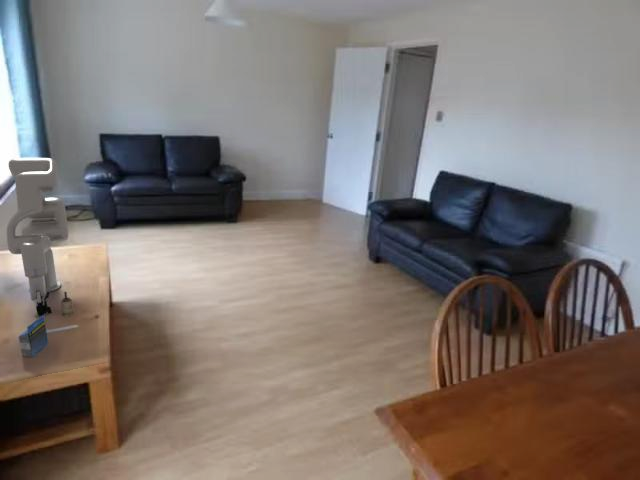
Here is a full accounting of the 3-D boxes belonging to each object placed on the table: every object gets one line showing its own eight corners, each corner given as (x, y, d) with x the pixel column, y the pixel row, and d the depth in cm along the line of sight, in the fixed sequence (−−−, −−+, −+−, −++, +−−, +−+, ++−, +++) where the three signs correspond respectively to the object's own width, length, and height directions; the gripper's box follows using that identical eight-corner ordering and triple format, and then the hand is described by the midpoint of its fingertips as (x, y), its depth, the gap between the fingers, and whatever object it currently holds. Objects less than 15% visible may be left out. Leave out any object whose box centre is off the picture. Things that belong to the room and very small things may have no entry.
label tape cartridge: (38, 342, 156) (33, 313, 152) (48, 343, 156) (44, 314, 152) (21, 356, 147) (16, 326, 143) (32, 357, 147) (27, 327, 143)
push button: (36, 319, 170) (32, 297, 167) (30, 315, 173) (27, 293, 170) (54, 313, 175) (51, 292, 172) (48, 309, 178) (45, 288, 175)
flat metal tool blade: (39, 332, 162) (39, 331, 162) (77, 325, 169) (77, 324, 169) (39, 334, 160) (39, 334, 160) (78, 327, 167) (78, 326, 167)
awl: (62, 312, 177) (59, 290, 174) (73, 310, 179) (70, 289, 176) (62, 316, 174) (59, 294, 170) (73, 314, 176) (71, 293, 172)
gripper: (25, 264, 172) (31, 303, 178) (23, 280, 159) (30, 322, 165) (46, 261, 176) (52, 300, 182) (46, 277, 163) (53, 318, 169)
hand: (41, 310), depth 173 cm, fingers open, 5 cm apart
